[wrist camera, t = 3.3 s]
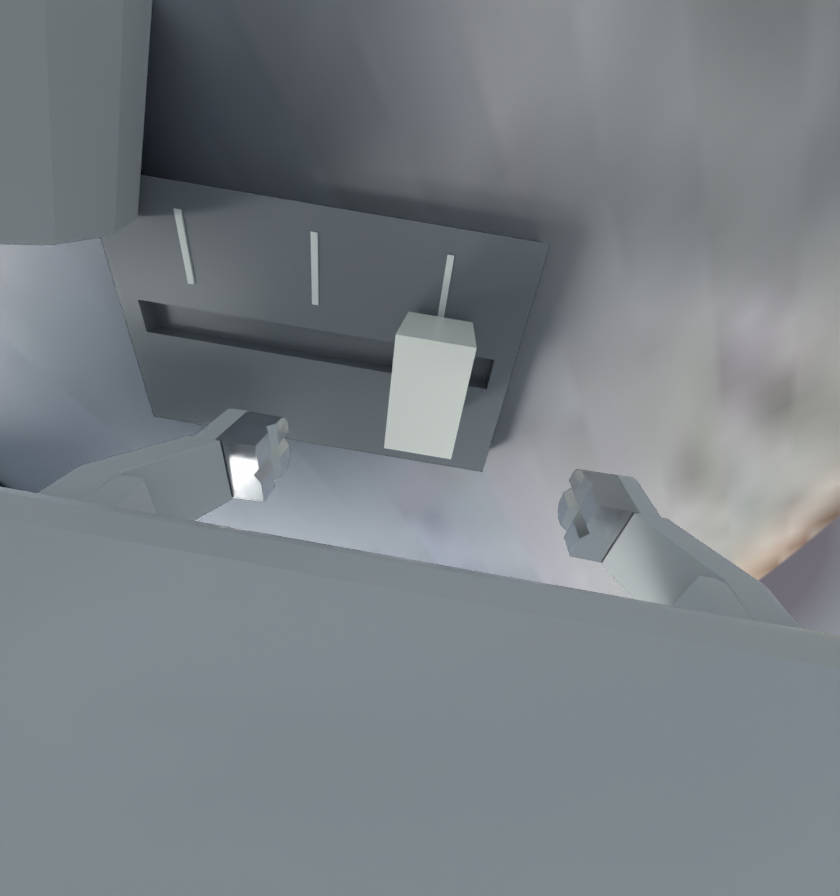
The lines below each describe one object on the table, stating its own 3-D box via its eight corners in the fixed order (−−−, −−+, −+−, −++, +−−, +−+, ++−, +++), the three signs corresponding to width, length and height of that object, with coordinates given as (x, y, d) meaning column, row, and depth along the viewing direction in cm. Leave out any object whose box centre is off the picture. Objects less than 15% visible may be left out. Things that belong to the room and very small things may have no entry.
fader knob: (452, 407, 20) (451, 459, 16) (399, 399, 20) (383, 448, 16) (472, 316, 17) (476, 348, 13) (411, 306, 17) (395, 334, 13)
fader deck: (480, 453, 23) (482, 472, 21) (176, 402, 23) (152, 417, 21) (540, 241, 17) (550, 244, 15) (116, 170, 17) (76, 164, 15)
